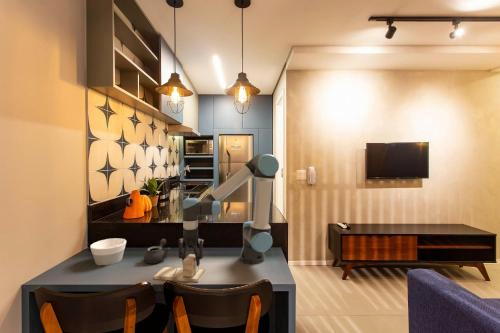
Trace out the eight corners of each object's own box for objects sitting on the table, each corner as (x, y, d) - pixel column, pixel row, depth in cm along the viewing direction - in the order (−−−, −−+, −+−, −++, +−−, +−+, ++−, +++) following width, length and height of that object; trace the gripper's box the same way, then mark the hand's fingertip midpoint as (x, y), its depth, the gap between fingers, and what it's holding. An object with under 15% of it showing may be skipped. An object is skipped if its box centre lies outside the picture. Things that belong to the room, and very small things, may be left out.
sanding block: (190, 269, 140) (189, 254, 140) (198, 270, 139) (198, 254, 139) (183, 277, 131) (182, 260, 131) (192, 277, 130) (192, 261, 130)
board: (205, 272, 140) (205, 269, 140) (198, 282, 129) (198, 279, 129) (164, 269, 143) (164, 266, 143) (154, 278, 132) (154, 276, 132)
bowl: (94, 270, 142) (93, 251, 141) (87, 260, 156) (87, 242, 156) (130, 261, 155) (130, 243, 154) (121, 252, 169) (121, 236, 169)
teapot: (167, 264, 150) (167, 247, 149) (140, 265, 149) (140, 248, 149) (175, 252, 168) (175, 237, 168) (151, 253, 168) (151, 238, 167)
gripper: (209, 226, 137) (209, 269, 137) (177, 225, 139) (177, 267, 140) (205, 230, 129) (205, 275, 130) (171, 229, 132) (171, 273, 133)
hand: (191, 271), depth 135 cm, fingers open, 5 cm apart
